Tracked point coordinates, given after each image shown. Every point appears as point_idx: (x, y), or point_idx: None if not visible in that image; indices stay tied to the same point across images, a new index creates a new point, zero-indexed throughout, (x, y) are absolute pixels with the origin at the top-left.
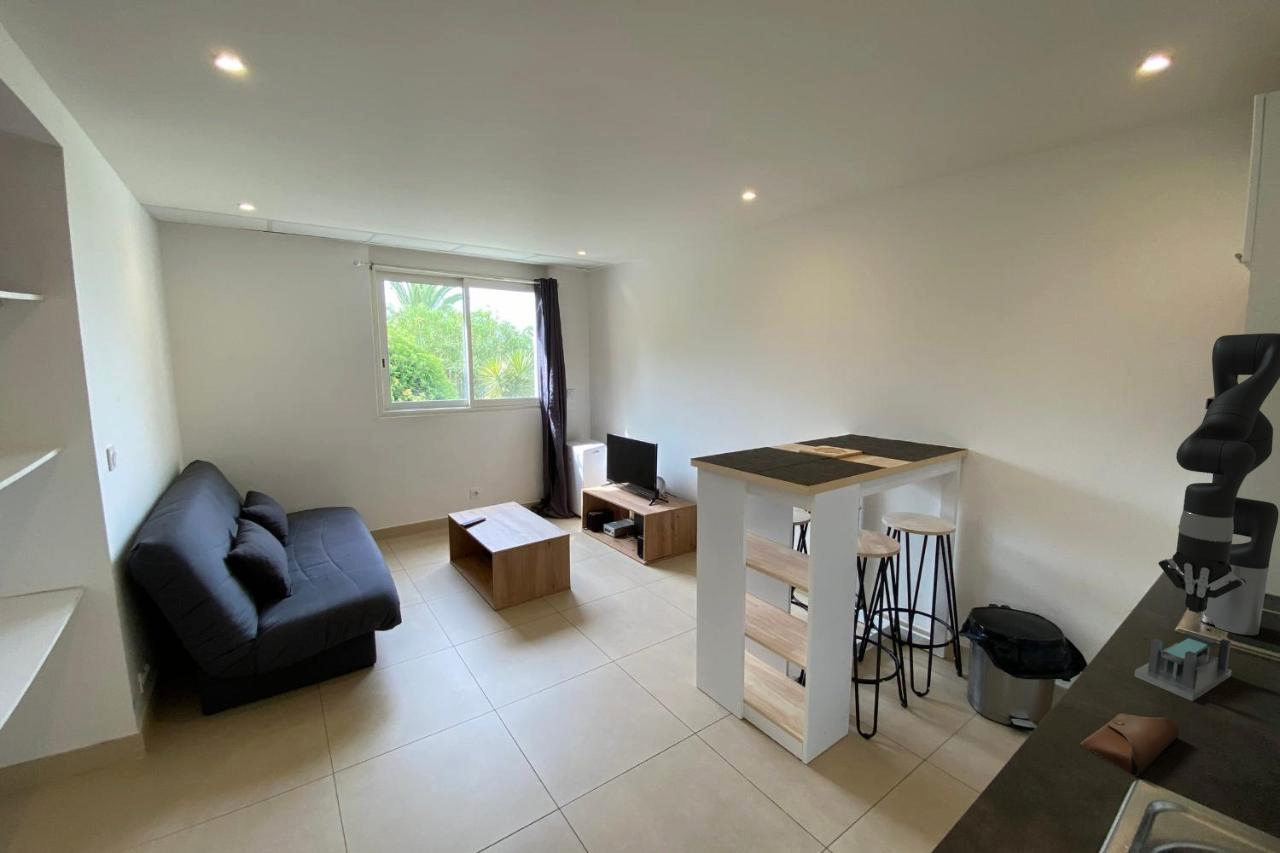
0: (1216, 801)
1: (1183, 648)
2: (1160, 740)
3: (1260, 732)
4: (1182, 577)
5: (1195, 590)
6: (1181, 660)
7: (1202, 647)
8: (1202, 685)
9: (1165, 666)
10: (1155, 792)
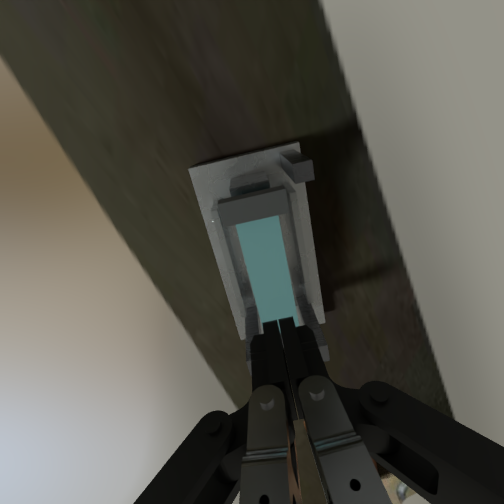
0: None
1: (268, 287)
2: (374, 462)
3: (406, 300)
4: (206, 478)
5: (292, 432)
6: None
7: (281, 239)
8: (314, 279)
9: None
10: (393, 480)
